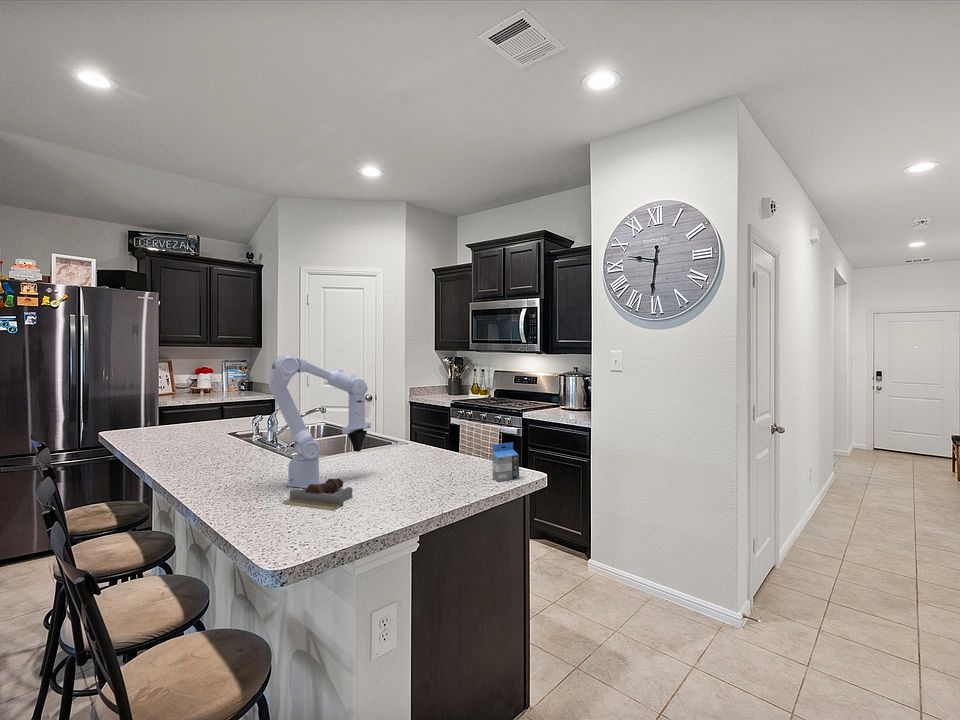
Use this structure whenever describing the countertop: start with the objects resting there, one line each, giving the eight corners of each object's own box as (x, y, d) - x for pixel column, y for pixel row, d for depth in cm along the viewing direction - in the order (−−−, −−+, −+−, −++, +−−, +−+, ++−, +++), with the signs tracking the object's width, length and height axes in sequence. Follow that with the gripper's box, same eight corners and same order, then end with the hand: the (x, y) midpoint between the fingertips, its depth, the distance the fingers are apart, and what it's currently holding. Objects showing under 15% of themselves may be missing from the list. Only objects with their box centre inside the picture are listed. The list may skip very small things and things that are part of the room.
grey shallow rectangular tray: (282, 503, 148) (282, 493, 148) (310, 492, 159) (310, 483, 159) (333, 510, 141) (333, 499, 141) (359, 498, 153) (359, 488, 153)
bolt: (341, 494, 164) (314, 506, 149) (330, 485, 165) (301, 497, 151) (349, 479, 163) (323, 490, 149) (338, 471, 164) (310, 481, 150)
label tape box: (498, 482, 171) (498, 446, 171) (492, 479, 175) (491, 444, 175) (519, 478, 176) (519, 443, 176) (513, 476, 179) (512, 442, 179)
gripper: (354, 415, 169) (354, 456, 170) (377, 411, 183) (378, 448, 183) (337, 414, 172) (337, 454, 172) (361, 410, 185) (361, 447, 186)
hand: (357, 451), depth 178 cm, fingers closed
